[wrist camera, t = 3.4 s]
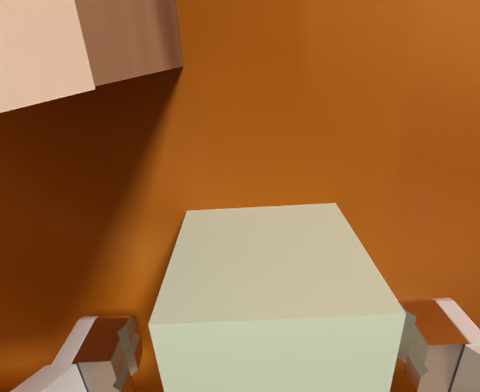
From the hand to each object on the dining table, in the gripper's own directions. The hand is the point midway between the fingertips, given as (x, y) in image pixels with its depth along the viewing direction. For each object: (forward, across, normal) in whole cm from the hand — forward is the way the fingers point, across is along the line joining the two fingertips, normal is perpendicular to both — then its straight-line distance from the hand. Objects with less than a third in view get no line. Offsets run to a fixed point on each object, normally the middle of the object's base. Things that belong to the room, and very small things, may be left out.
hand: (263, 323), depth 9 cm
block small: (+2, 0, 0) cm, 3 cm away
